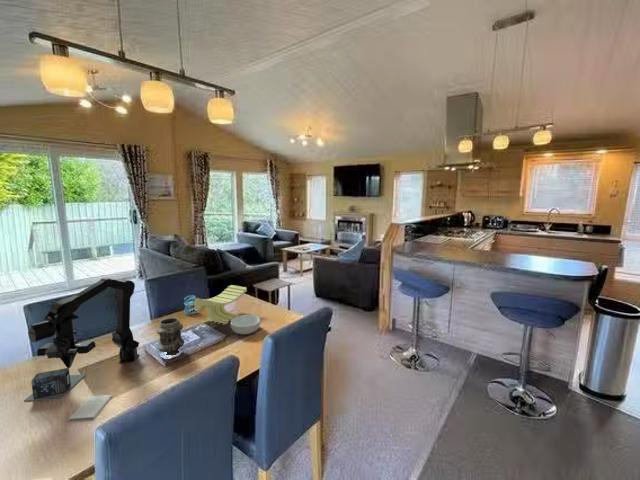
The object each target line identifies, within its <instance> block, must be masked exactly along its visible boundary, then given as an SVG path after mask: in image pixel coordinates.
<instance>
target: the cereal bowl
mask: <svg viewBox="0 0 640 480" xmlns="http://www.w3.org/2000/svg"><path fill="white" fill-rule="evenodd" d="M260 325H261V318H260V317H259V316H257V315H254V314H243V315H238V317H235V318H234V319H232V320H231V322H230V328H231V329H232V331H233V332H234V333H236V334H238V335H239V334H240V335H243V336H244V335H245V336H246V335H250V334H252V333H254V332H256V331H257V330H258V329H259V328H260Z"/></svg>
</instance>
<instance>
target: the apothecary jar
mask: <svg viewBox="0 0 640 480" xmlns="http://www.w3.org/2000/svg"><path fill="white" fill-rule="evenodd" d="M179 320H180V319H179V318H178V317H168V318H167V317H166V318H163V319H162V320H160V321H159V325H158V326H157V327H156V330H155V331H156V333H157V334H158V335H159V342H158V343H157V350H158V351H160V352H162V353H164V352H167V354H166V355H176V354H177V353H179V351H178V349H181V348H182V347H183V346H184V344H185V340H184V338H183V337H182V334H181V333H182V332H181V331H182V329H183V323H182V322H180V321H179Z"/></svg>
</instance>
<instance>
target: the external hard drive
mask: <svg viewBox="0 0 640 480" xmlns="http://www.w3.org/2000/svg"><path fill="white" fill-rule="evenodd" d="M112 397H113V395H112V394H106V395H91V396H89V397H88V398H87V399H86V400H85V401H84V402H83V403H82V404H81V405H80V406H79V407H78V409H77V410H75V412H73V413H72V415H71V416H70V417H69V418H68V423H69V422H79V421H80V422H81V421H89V420H95V419H96V417H97V416H98V415H99V414H100V412H101V411H103V409H104V407H105V406H106V405H107V403H109V401H110V400H111V399H112Z"/></svg>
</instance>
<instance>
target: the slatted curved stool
mask: <svg viewBox="0 0 640 480" xmlns="http://www.w3.org/2000/svg"><path fill="white" fill-rule="evenodd" d="M246 292H248V289H247V286H240V285H234V284H231V285H228V286H227V287H226V288H224V290H223V291H221V293H220V294H217V295H216V296H214V297H211V298H206V299H205V298H199V297H196V299H195V300H194V299H193V301H194V308H193V309H196V310H197V311H201V310H202V309H205V310H206V316H207V319H208V321H209V322H212V321H214V322H213V323H216V322H219V323H218V324H220V323H223V324H222V325H224V324H225V325H227V324H229V323H230V322H229V321H231V320H232V319H234V318H235V317H238V316H239V315H238V314H235V313H232V312H229V311H227V310H226V309H225V306H227V305H229V304H233V302H236V301H239V298H242V296H243V295H245V293H246ZM228 322H229V323H228ZM226 323H227V324H226Z"/></svg>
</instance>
